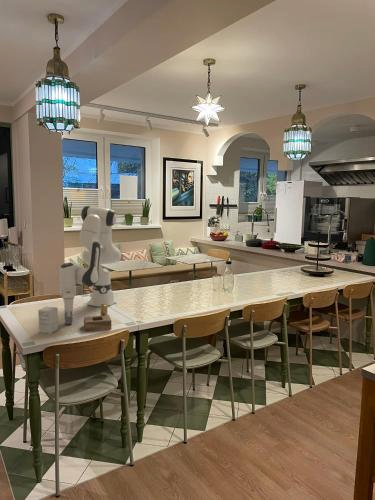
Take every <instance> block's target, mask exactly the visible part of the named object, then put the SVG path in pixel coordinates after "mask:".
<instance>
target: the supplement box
mask: <svg viewBox="0 0 375 500" xmlns="http://www.w3.org/2000/svg"><path fill="white" fill-rule="evenodd" d="M58 311H59V309H58V307H55V306H48V305H47V306H44V307H42V308H39V309H38V311H37V312H38V313H37V315H38V332H39V333H44V334H52V333H54V332H55V331H58V330H59V315H58V313H59V312H58Z"/></svg>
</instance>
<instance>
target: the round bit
mask: <svg viewBox="0 0 375 500" xmlns="http://www.w3.org/2000/svg"><path fill="white" fill-rule="evenodd" d="M100 306H101V307H100V316H104V315H108V306H107V304H101V305H100Z"/></svg>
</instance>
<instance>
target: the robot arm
mask: <svg viewBox="0 0 375 500" xmlns="http://www.w3.org/2000/svg"><path fill="white" fill-rule="evenodd" d="M80 216H81V220H82V221H83V223H82V225H81V228H80V232H79V238H78V239H79V242H80V243H81V245H82V246H83V248H85V250H83V252H82V255H81V256H82V257H81V258H82V261H83V262H84V264H86V265H87V267H82V266H79V265H76V264H74V263H73V262H67V263H63V264H61V265H60V267H59V273H58V274H59V275H58V276H59V277H58V279H59V282H60V283H59V295H60V296H61V299H62V300H63V305H65V309H64V312H65V311H66V312H67V317H70V312H72V313H73V309H74V298H76V297H75V296H76V295H77V284H79V285H84V286H86V287H93V288H92V289H93V290H92V291H91V293H89V298H90V299H89V301H88V303H87V304H88V306H94V307H98V308H99V307H100V308H101V306H100V305H101V304H107V307H108V306H109V305H110V306H112V305H114V304H116V303H117V301H116V300H115V298H114V295H115V294H114V291H113V290H112V283H111V272H110V271H109V270H108V269H107V268H104V267H102V265H108V264H111V265H113V264H116V263H119V262H120V261H121V259H122V253H121V250H120V249H119V248H118V247H116V245H114V243H113V240H112V239H113V238H112V237H113V235H112V231H113V230H112V229H113V228H112V227H113V226H114V225H115V224H116V223H117V219H118V217H117V216H118V215H117V212H116V211H115V210H114V209H111V208H110V209H109V208H105V207H102V206H100V207H99V206H91V205H86V206H84V207H83V208H82V209H81V214H80ZM101 246H102V247H101Z"/></svg>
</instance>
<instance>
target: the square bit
mask: <svg viewBox="0 0 375 500" xmlns="http://www.w3.org/2000/svg"><path fill="white" fill-rule="evenodd" d="M63 305H64V304H63ZM63 309H64V324H65V325H70V324H73V311H72V312H70V317H67V312H66V311H65V305H64V308H63Z"/></svg>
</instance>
